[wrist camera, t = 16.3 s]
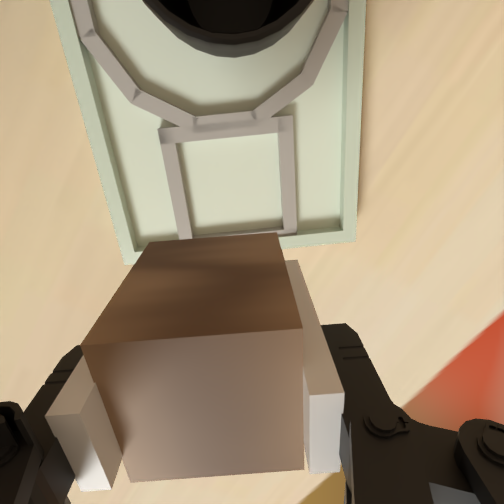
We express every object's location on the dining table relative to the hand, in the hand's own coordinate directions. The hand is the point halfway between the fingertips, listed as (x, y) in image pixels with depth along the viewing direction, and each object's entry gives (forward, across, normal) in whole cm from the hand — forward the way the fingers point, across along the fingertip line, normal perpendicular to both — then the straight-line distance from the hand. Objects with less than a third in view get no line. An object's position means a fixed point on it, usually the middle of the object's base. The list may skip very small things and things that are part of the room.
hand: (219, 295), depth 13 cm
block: (0, 0, 0) cm, 0 cm away
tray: (+14, 0, +10) cm, 17 cm away
